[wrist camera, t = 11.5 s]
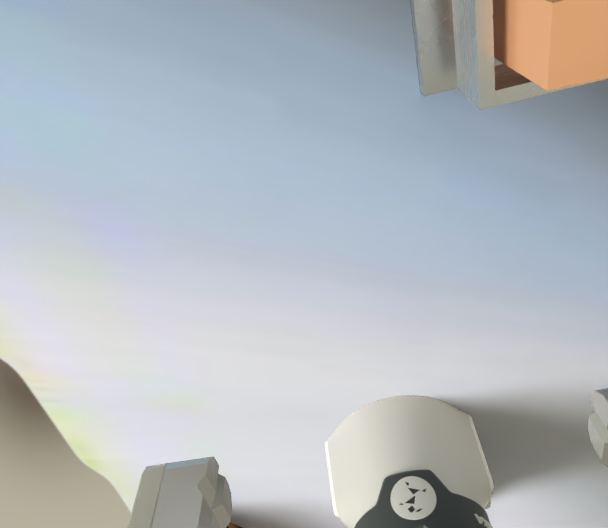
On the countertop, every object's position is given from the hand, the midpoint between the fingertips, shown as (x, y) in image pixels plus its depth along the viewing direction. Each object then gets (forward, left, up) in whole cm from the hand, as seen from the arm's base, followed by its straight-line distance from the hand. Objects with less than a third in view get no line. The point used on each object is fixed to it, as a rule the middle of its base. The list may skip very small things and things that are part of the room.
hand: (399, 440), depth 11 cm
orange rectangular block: (+3, -11, -25) cm, 28 cm away
